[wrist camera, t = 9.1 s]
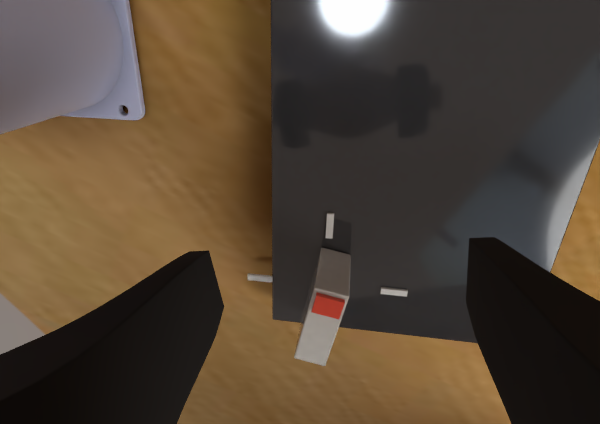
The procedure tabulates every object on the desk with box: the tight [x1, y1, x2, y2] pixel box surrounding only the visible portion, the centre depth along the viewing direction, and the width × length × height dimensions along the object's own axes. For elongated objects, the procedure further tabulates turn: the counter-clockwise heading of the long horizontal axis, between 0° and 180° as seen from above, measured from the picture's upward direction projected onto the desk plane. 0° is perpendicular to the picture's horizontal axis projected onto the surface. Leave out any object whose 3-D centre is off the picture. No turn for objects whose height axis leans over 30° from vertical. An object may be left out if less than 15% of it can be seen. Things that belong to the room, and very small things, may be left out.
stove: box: [248, 0, 600, 343], centre depth 19 cm, size 15×19×2 cm
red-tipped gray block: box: [294, 248, 351, 366], centre depth 20 cm, size 4×2×4 cm, turn 168°
